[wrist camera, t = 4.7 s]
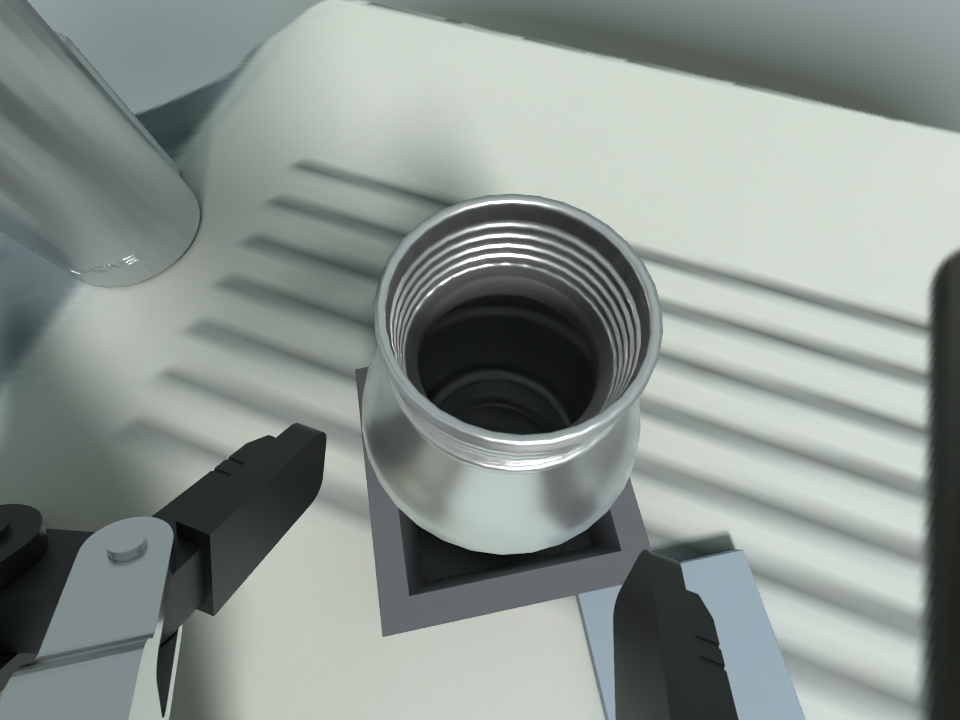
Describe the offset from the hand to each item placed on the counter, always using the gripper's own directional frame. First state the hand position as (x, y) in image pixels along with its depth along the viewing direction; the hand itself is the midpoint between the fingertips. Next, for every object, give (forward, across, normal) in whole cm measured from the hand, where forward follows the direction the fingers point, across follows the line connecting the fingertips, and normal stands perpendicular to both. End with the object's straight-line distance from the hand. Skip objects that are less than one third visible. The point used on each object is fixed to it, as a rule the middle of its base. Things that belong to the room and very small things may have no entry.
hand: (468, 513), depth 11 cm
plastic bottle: (+11, 0, +8) cm, 14 cm away
